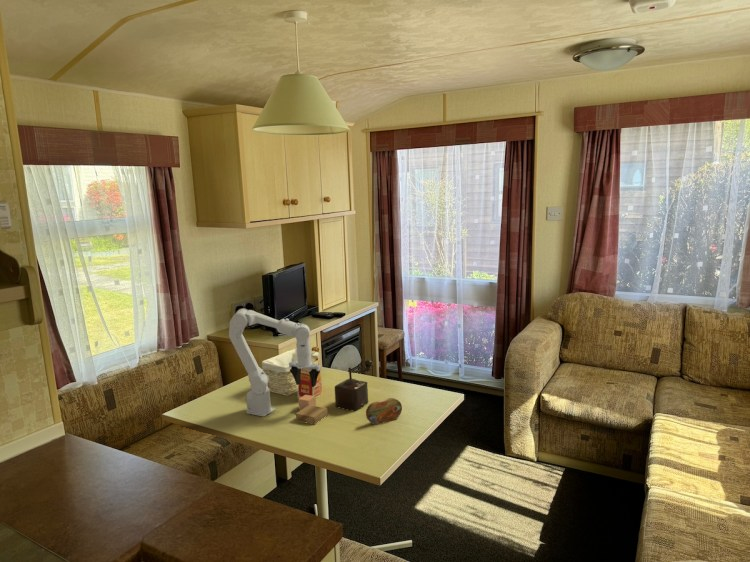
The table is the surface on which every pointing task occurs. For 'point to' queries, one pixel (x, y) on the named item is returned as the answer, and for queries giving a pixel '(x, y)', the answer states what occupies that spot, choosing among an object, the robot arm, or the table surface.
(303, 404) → the terracotta cube
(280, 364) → the storage basket
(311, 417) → the brown flat square block
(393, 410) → the tin
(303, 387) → the milk carton
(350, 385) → the dark brown boxy piece
